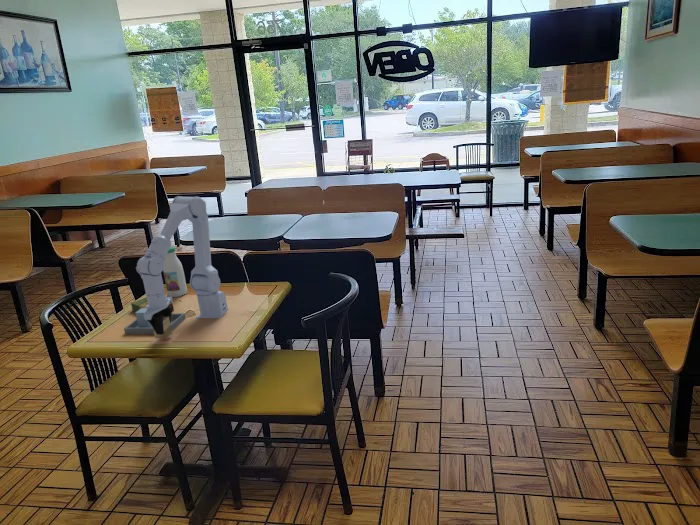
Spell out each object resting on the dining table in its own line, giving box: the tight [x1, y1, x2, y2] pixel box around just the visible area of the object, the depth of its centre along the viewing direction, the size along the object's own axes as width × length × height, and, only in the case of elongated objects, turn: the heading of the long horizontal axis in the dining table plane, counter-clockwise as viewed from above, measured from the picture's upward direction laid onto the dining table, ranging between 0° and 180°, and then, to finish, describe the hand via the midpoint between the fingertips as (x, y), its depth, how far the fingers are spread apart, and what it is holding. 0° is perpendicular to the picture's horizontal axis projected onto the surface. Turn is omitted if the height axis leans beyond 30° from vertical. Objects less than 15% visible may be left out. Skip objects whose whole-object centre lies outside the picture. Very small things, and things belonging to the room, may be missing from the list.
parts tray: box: [123, 312, 186, 335], centre depth 183 cm, size 16×12×2 cm
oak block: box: [153, 317, 173, 340], centre depth 171 cm, size 4×4×6 cm
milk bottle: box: [162, 246, 188, 298], centre depth 212 cm, size 8×8×20 cm
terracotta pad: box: [150, 333, 180, 345], centre depth 173 cm, size 7×7×1 cm
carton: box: [130, 296, 175, 313], centre depth 198 cm, size 8×16×4 cm, turn 51°
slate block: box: [135, 308, 152, 328], centre depth 183 cm, size 4×4×6 cm
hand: (163, 330), depth 172 cm, fingers closed on oak block, 4 cm apart
